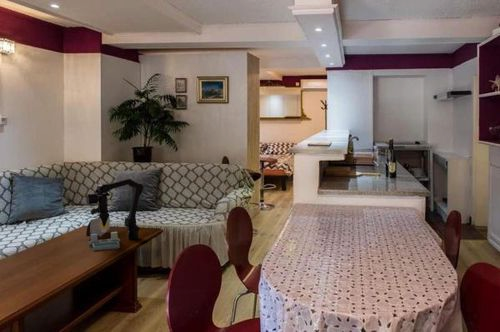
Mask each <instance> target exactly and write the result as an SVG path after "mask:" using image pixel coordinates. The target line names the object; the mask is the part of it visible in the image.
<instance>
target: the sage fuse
mask: <svg viewBox="0 0 500 332" xmlns="http://www.w3.org/2000/svg"><path fill="white" fill-rule="evenodd" d="M118 236H119V234H118V231H111V232H110V239H111V240H112V241H114V240H118V238H119V237H118Z"/></svg>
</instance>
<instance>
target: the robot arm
mask: <svg viewBox="0 0 500 332" xmlns="http://www.w3.org/2000/svg"><path fill="white" fill-rule="evenodd" d="M124 186H129V187H130V188H131V193H132V198H131V202H130V207H129V213H128V215H127V216H125V217H124V222H123V223H124V227H125V228H126V229H127V231H128V232H127V239H128V240H129V241H136V240H139V231H140V227H139V226H138V225H137V218H136V217H137V216H136V215H137V209H138V206H139V200H140V197H141V195H142V194H143V192H144V185H143V184H142V183H138V182H136V181H134V180H132V179H131V178H124V179H120V180H117V181H114V182H109V183H98V185H97V187H96V190H95V191H94V192H93V193H87V194H86V195H87V196H86V198H85V200H86V201H85V202H86V204H87V205H96V204H97V206H95V207H93V208H91V209H89V211H90V214H91V215H92V216H94V215H95V214H97V215H98V217H99V218H101V220H102V223H103V226H105V225H106V222H107V220H108V217H109V218H110V213H109V210H108V206H109V205H108V197H109V196H111V194H110V193H109V192H110V191H111V190H113V189H116V188H117V189H118V188H120V187H124Z"/></svg>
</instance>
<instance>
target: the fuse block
mask: <svg viewBox="0 0 500 332" xmlns="http://www.w3.org/2000/svg"><path fill="white" fill-rule="evenodd" d="M111 241H112V240H111V238H107V239H98V242H94V243H101V242H111ZM114 241H118V243H119V245H121V239H120V238H119V237H118V240H114ZM87 243H88V246H89V247H90V248H91V247H93V243H91V240H89V241H88V242H87Z"/></svg>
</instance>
